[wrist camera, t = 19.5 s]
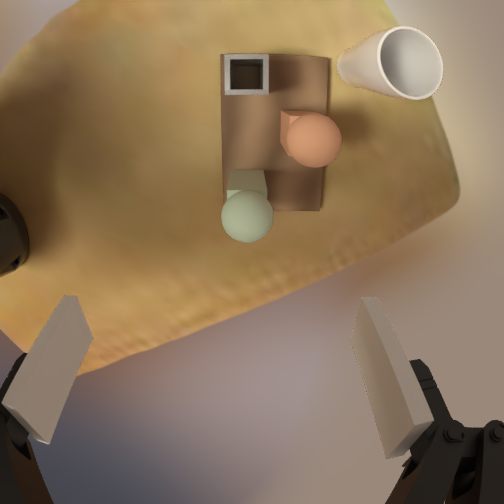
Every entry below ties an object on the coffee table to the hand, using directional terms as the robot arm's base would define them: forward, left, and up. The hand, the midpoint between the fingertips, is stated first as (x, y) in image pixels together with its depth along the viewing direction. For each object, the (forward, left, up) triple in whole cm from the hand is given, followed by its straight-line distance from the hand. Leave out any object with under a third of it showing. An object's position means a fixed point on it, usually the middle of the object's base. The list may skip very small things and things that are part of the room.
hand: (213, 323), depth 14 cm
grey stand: (+1, +11, -28) cm, 30 cm away
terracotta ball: (+7, +5, -20) cm, 22 cm away
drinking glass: (+15, +13, -29) cm, 35 cm away
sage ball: (+1, -2, -20) cm, 20 cm away
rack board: (+5, +4, -29) cm, 29 cm away
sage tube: (+1, -2, -28) cm, 28 cm away
